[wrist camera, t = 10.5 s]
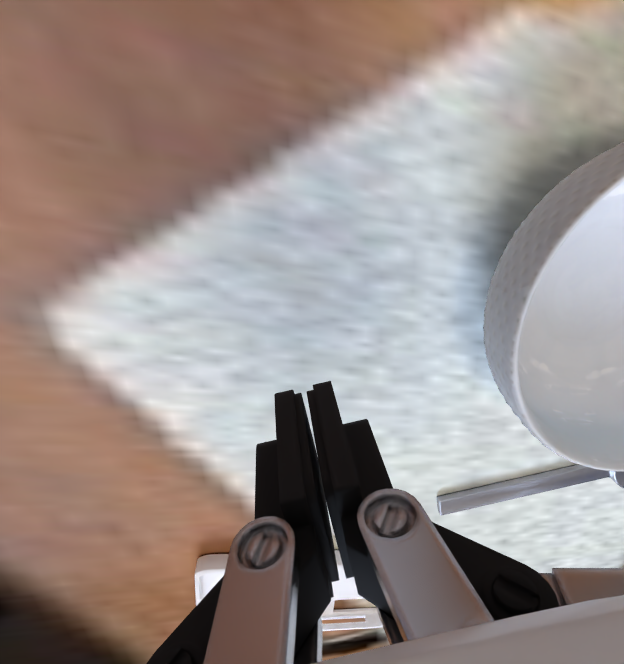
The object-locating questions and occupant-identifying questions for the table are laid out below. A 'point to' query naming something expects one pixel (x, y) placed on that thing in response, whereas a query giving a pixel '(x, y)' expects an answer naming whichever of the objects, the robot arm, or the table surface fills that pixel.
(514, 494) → the spoon
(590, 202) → the cereal bowl
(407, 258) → the table surface
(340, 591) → the phone case
